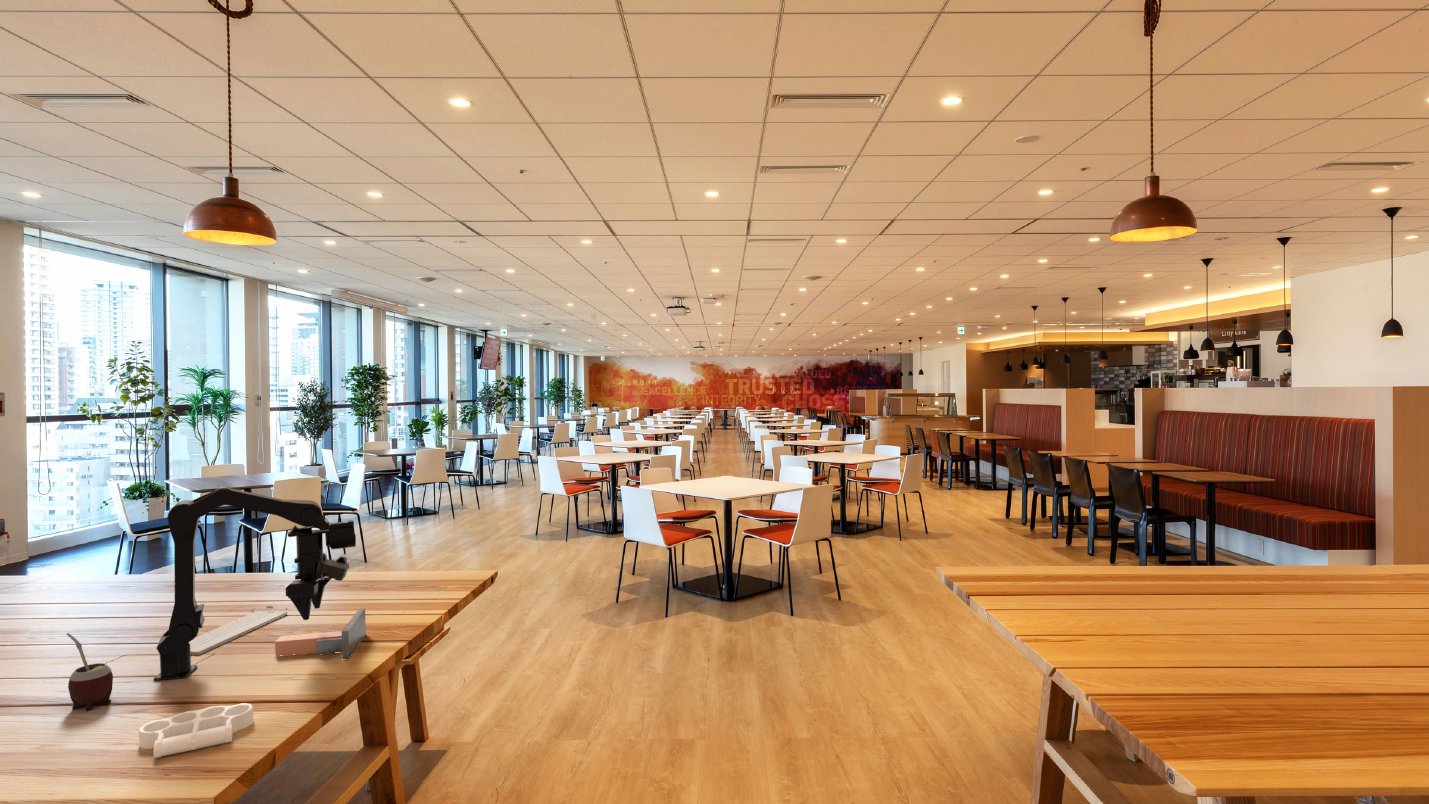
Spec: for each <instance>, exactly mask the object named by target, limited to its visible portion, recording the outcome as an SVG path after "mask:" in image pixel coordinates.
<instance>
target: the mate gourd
mask: <svg viewBox="0 0 1429 804" xmlns="http://www.w3.org/2000/svg"><path fill="white" fill-rule="evenodd" d="M65 635H67V636H68V638H70V639H71V640H72V641H73V642H74V643H75V647H76V648H77V651H78V652H79V655H80V657H81V660H82V663H83V666H81V667H78V668H76V669H74V671H73V672H72V673H71V675H70V677H69V680H68V692H69V696H70V700H71V702H72V704H73V706H71V709H72V710H78V709H84V708H85V712H90V711H92V710H93V708H94V707H96V706H100V705H106V704H110V703H111V702H112V699H111V695H112V690H113V685H114V684H113V683H114V682H113V681H114V674H113V671H112V669H111V668H110V667H109V665H107V664H106V663H102V662H100V663H91V664H88V662H87V661H88V660H87V659H86V655H85V653H84V650H83V646H82V644H81V642H79V640H78V639H77V638H76V637H75V636H73V635H72V634H71V633H69V632H68V633H67V632H66V634H65Z"/></svg>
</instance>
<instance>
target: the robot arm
mask: <svg viewBox="0 0 1429 804" xmlns="http://www.w3.org/2000/svg"><path fill="white" fill-rule="evenodd" d="M223 506H231V507H234V508H239V509H244V510H249V511H254V512H258V513H263V514H268V515H273V516H276V517H280V518H282V519H285V520H286V521H289V522H291V523H294V524H295V525H293V527H292V528H291V529H290V530H289V531H288V532H287V537H288V538H293V537H296V538H295V539H296V540H295V541H296V557H295V558H294V564H296V568H297V569H296V571H297V574H295V575H294V579H295V580H293V581H291V583H289V584H288V585H287V586H286V587H285V597H287V598H288V599H289V600H290V601H291V602H292V604H293V605H294V606H295V609H296V610H297V611H298V613H299V615H300V616H301V618H302V619H303V620H304V621H308V620H309V619H310V615H311V609H312V606H313V607H314V609H320V608H321V605H322V604H321V603H322V599H323V596H324V591H325V587H326V586H327V584H328V583H329V582H330V581H331V580H333V579H334V580H336V581H338V582H339V581H340V582H341V581H343V580H344V579H345V578H346V576H347V572H348V571H349V569H350V563H349V562H348V561H347V557H346V556H343V555H342V556H340V557H338V558H337V559H336V560H335V559H328V557H327V554H326V552H324V546H323V545H324V544H323V542H324V540H325V547H328V548H330V550H338V549H347V548H348V549H349V548H355V547H356V546H357V538H356V537H357V535H356V533H355V532H356V531H355V523H354V520H353V519H352V520H345V521H340V522H339V521H338V522H330V521H329V518H326V517H325V515H323V511H322V507H321V505H320V504H319V503H318V502H316V501H314V500H306V499H304V500H303V499H281V498H277V497H272V496H268V495H263V494H258V493H254V492H249V491H244V490H240V489H235V488H233V487H230V486H226V485H223V486H220V487H218V488H216V489H215V490H213V491H211V492H209V493H206V494H204V495H202V496H199V497H197V498H194V499H193V500H187V499H185V500H181V501H179V502H177V503H176V504H174V505H173V506H172V507H171V508H170V509H169V512H168V513H167V523H168V527H169V531H170V534H171V535H170V536H171V537H172V540H173V544H174V549H173V550H174V557H173V558H174V604H173V609H172V612H171V618H170V621H169V625H168V626H169V627H168V629H167V630H166V631H165V632H164V633H163V634H162V635H161V637H160V640H159V642H158V643H157V646H156V650H157V652H158V654H159V667H160V668H159V669H160V672H159V673H158V674H157V675H155V676H154V677H153V681H159V680H171V679H173V680H174V679H181V678H182V679H183V678H186V677H187V676H189V675H190V674H191V673H192V672H193V671H194V670H196V669H197V668H198V664H191V662H192V659H191V658H192V657H191V656H192V655H191V653H190V644H189V642H190V641H192V640H193V639H194V638H195V637H198V634H199V631H200V629H202V628H203V626H204V623H205V617H204V613H203V612H204V608H205V603H201V604H198V603H197V600H196V592H195V591H196V572H195V571H196V570H195V569H196V562H195V561H196V560H195V559H196V558H195V557H196V551H195V549H196V548H195V546H196V541H195V540H196V536H197V531H198V527H199V523H200V520H201V519H200V518H202V517H204V516H205V515H207V514H209V513H212V512H213V511H214V510H216V509H218V508H220V507H223ZM297 525H299V526H301V527H298V526H297ZM313 527H314V528H316V529H313ZM323 534H324V535H325V537H324V538H325V539H324V540H323Z"/></svg>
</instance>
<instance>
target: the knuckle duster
mask: <svg viewBox="0 0 1429 804" xmlns="http://www.w3.org/2000/svg"><path fill="white" fill-rule="evenodd" d="M253 723H254V705H253V704H251V703H245V702H244V703H243V702H241V703H238V704H234V705H216V706H215V705H214V706H209V707H205V708H202V709H201V708H200V709H197V710H187V711H184V712H179V713H177V714H175V715H172V716H169V717H166V718H162V719H154V720H152V721H149V722H148V723H145V724H143V725H142V726H141V727H140V728H139V730H138V739H139V742H138V743H139V748H141V749H144V750H149V749H150V750H151V749H153V758H154V759H160V758H162V757H165V756H170V755H176V754H179V753H185V752H190V751H196V750H200V749H204V748H208V747H213V746H217V745H223V744H228V743H231V742H233V734H234V733H236V732H238V731H240V730H244V729H246V728H248V727H249V726H250V725H252V724H253Z"/></svg>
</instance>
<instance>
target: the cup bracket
mask: <svg viewBox="0 0 1429 804" xmlns="http://www.w3.org/2000/svg"><path fill="white" fill-rule="evenodd" d="M366 630H367V628H366V608H363V607H362V608H358V609H357V611H356V612H355V614H354V615H353V616H352V617H351V618H350V620H349V621H348V623H346V625H345V626H344V627H343V629H342V628H341V629H331V630H330V629H329V630H324V631H323V633H324V632H335V631H342V638H332V639H320V640H317V641H316V647H317V653H316V656H321V655H320V654H324V655H332V654H331V653H335V652H342V653H341V659H349V658H350V659H351V657H352V656H353V655H354V653H355V652H356V650H357V648H358V647H359V645H360V644H361V643H362V641H363V639H364V638H365V636H366V633H367V631H366ZM353 652H354V653H353ZM335 654H336V653H335ZM351 655H352V656H351ZM350 659H349V660H350Z"/></svg>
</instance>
